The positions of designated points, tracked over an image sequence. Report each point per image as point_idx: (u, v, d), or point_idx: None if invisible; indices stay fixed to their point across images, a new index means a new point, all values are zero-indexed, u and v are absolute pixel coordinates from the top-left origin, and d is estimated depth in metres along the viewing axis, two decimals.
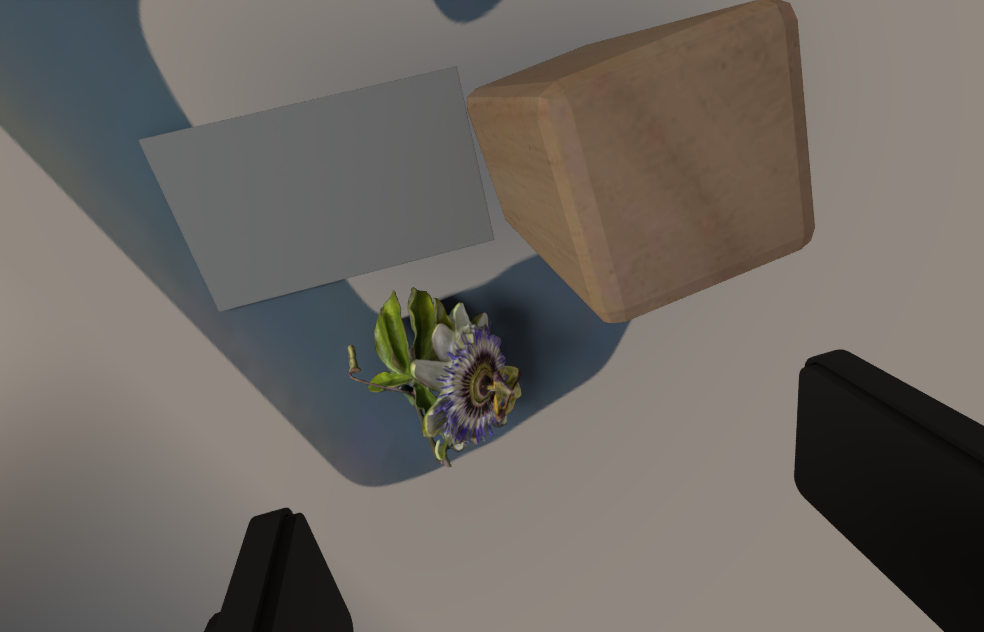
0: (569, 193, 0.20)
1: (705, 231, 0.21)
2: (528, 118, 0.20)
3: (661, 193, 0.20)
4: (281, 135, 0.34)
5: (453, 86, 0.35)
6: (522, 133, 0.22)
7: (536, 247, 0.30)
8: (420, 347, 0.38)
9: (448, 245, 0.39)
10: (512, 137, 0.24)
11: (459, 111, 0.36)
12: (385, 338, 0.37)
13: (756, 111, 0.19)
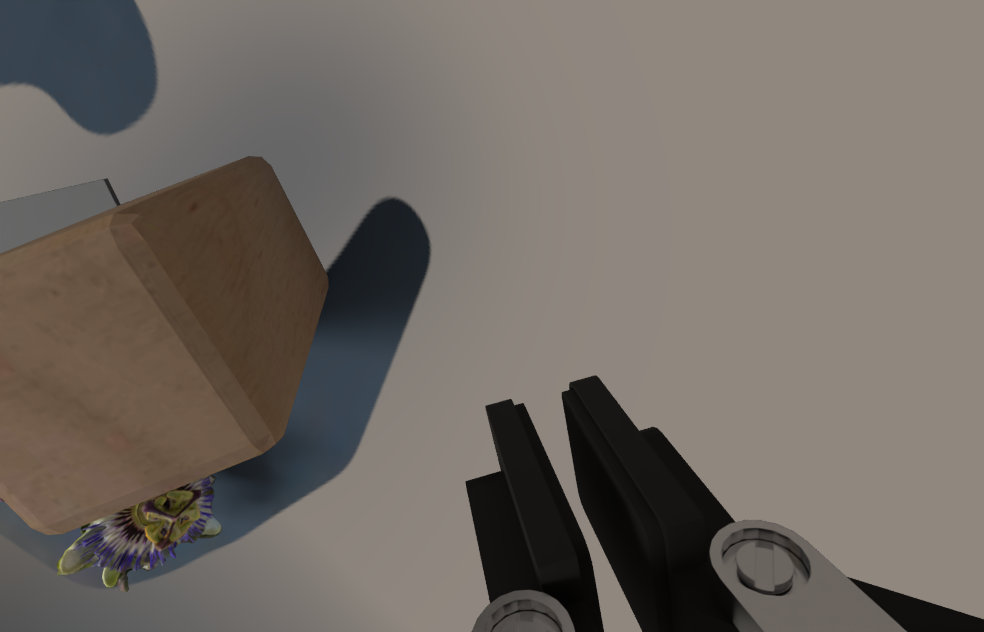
0: None
1: (114, 448, 0.19)
2: None
3: (36, 417, 0.18)
4: None
5: (104, 199, 0.33)
6: None
7: None
8: None
9: None
10: None
11: None
12: None
13: (124, 333, 0.17)
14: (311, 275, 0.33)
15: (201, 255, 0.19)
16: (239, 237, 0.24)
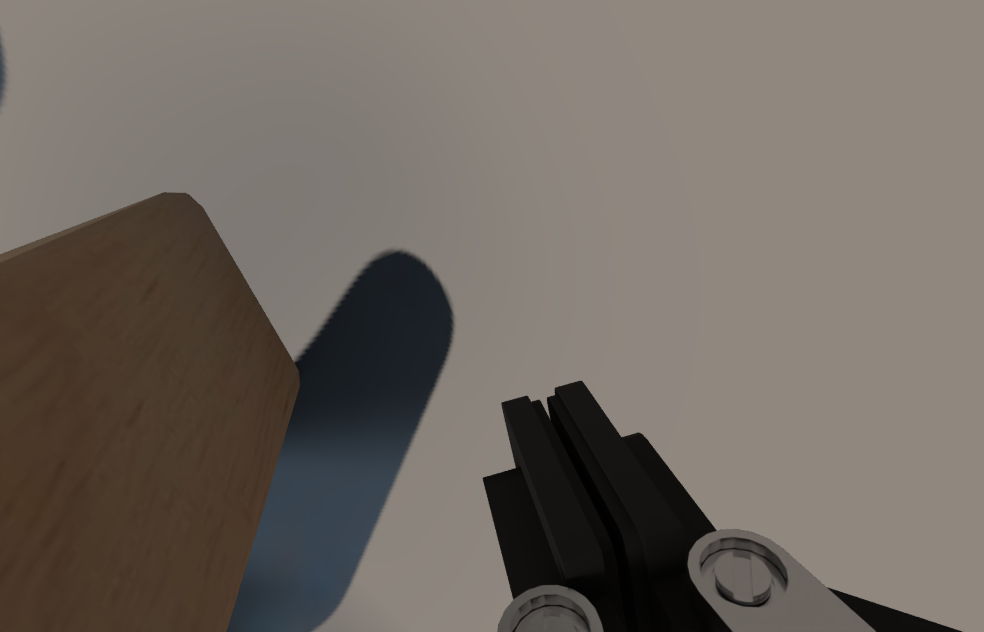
0: None
1: None
2: None
3: None
4: None
5: None
6: None
7: None
8: None
9: None
10: None
11: None
12: None
13: None
14: (265, 387, 0.20)
15: None
16: (69, 402, 0.11)
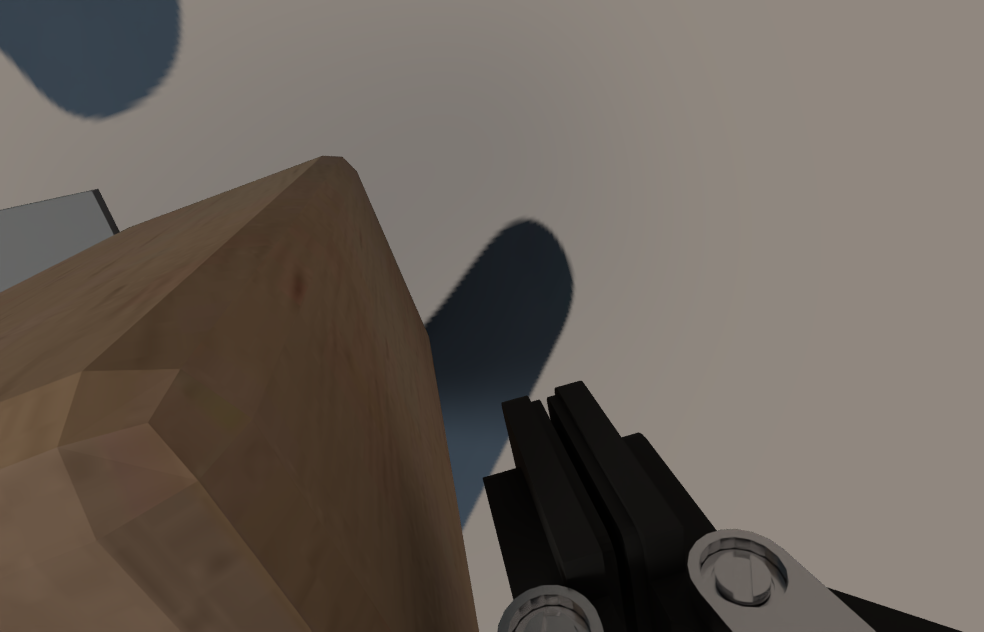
0: None
1: None
2: None
3: None
4: None
5: (93, 222, 0.21)
6: None
7: None
8: None
9: None
10: None
11: None
12: None
13: None
14: (422, 347, 0.21)
15: (334, 428, 0.07)
16: (363, 327, 0.11)
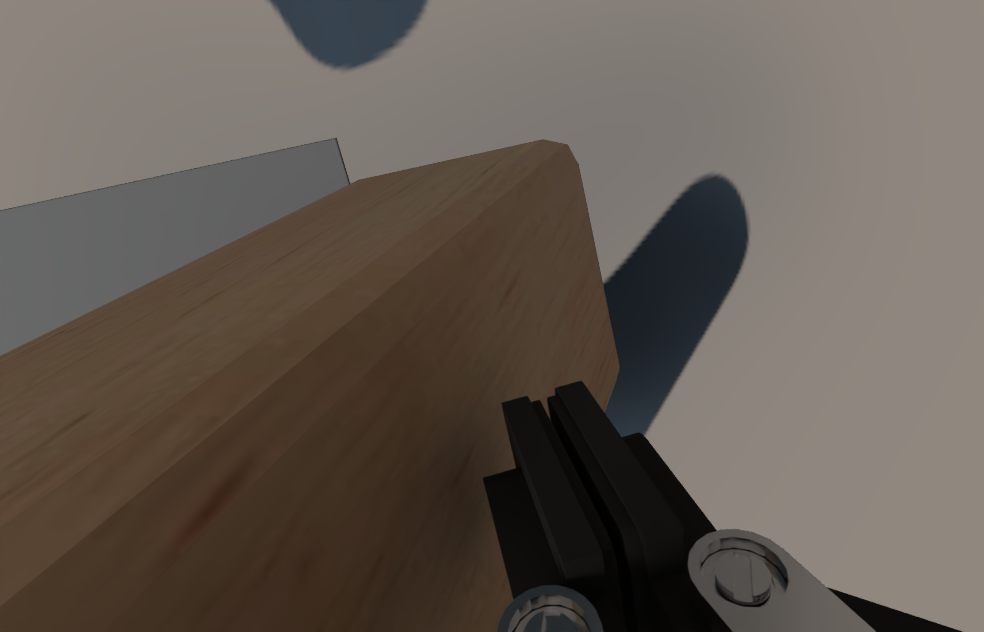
0: None
1: None
2: None
3: None
4: (41, 247, 0.21)
5: (332, 169, 0.22)
6: None
7: None
8: None
9: None
10: None
11: None
12: None
13: None
14: None
15: None
16: (403, 470, 0.09)
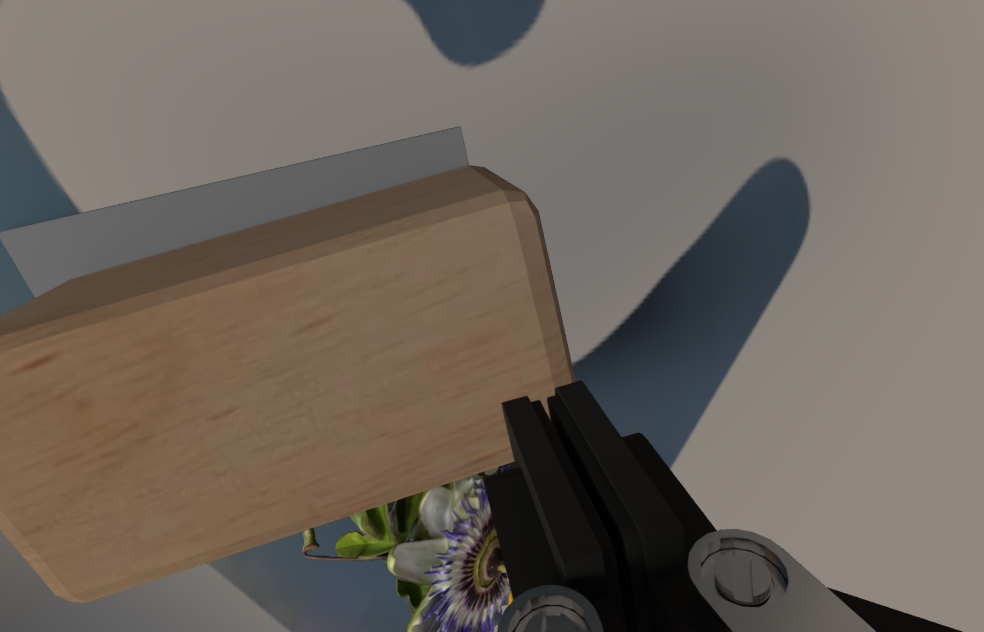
0: None
1: None
2: None
3: None
4: (209, 223, 0.24)
5: (456, 154, 0.25)
6: None
7: None
8: (405, 503, 0.28)
9: None
10: None
11: None
12: None
13: None
14: (455, 434, 0.19)
15: (2, 425, 0.16)
16: (160, 394, 0.16)
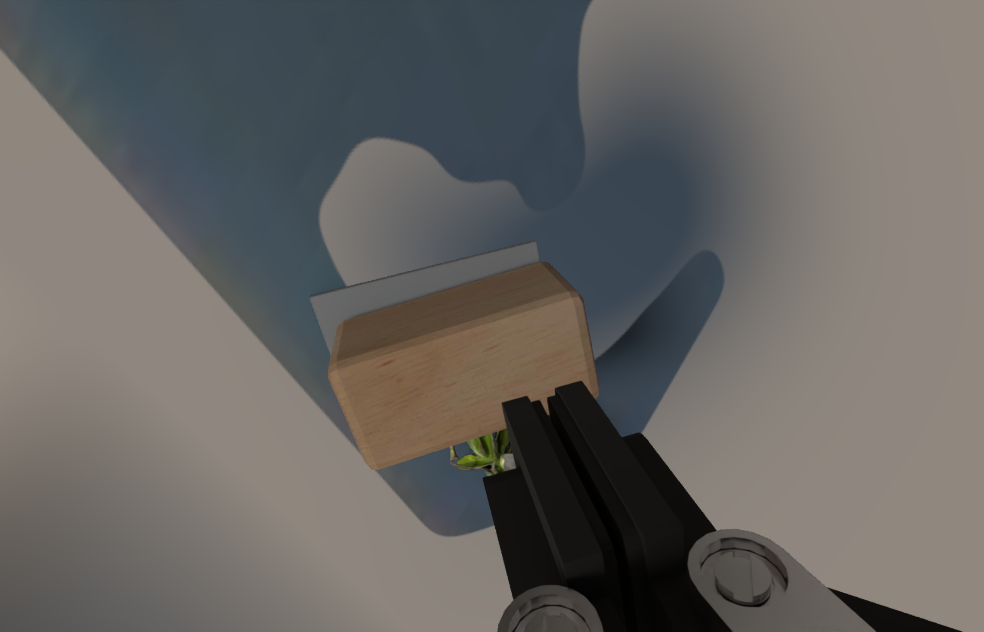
0: None
1: None
2: None
3: None
4: (408, 291, 0.47)
5: (533, 254, 0.48)
6: None
7: None
8: (500, 437, 0.51)
9: None
10: None
11: None
12: None
13: None
14: (543, 395, 0.42)
15: (368, 388, 0.39)
16: (428, 376, 0.39)
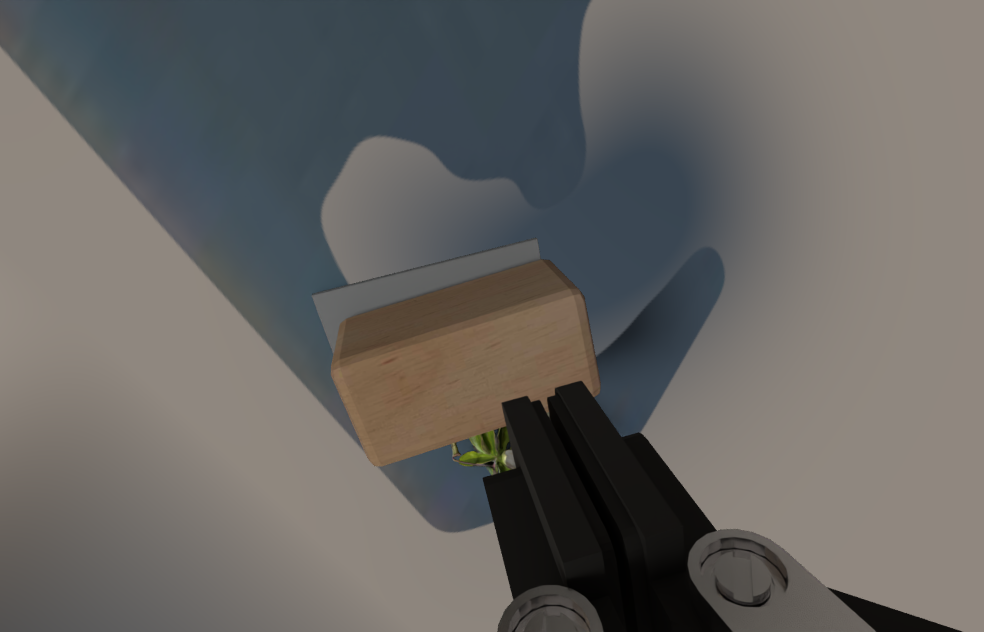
0: None
1: None
2: None
3: None
4: (410, 288, 0.47)
5: (534, 252, 0.48)
6: None
7: None
8: (501, 434, 0.51)
9: None
10: None
11: None
12: None
13: None
14: (545, 392, 0.42)
15: (371, 386, 0.39)
16: (431, 373, 0.40)
